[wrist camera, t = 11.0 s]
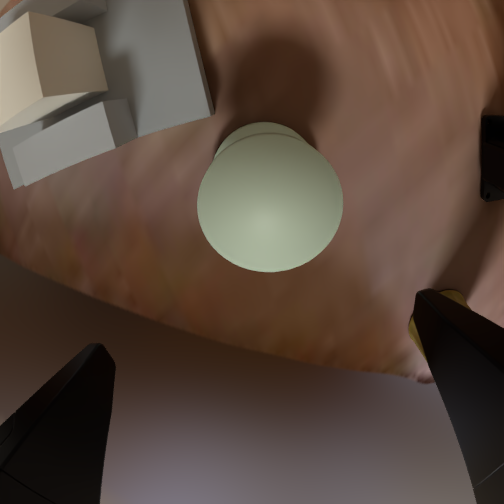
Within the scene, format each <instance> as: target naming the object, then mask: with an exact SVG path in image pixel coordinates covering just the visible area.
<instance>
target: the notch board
mask: <svg viewBox="0 0 504 504" xmlns="http://www.w3.org/2000/svg"><path fill="white" fill-rule="evenodd" d="M28 11H29V12H34V13H39V14H44V15H48V16H52V17H56V18H60V19H64V20H68V21H72V22H75V23H79V24H83V25H86V26H89V27H93V28H94V30H95V35H96V39H97V44H98V49H99V53H100V58H101V62H102V66H103V70H104V74H105V78H106V82H107V86H108V90H109V91H106V92H104V93H102V94H100V95H97V96H95V97H93V98H91V99H89V100H86V101H84V102H82V103H80V104H78V105H76V106H74V107H72V108H70V109H68V110H66V111H64V112H62V113H60V114H59V115H57V116H55V117H53V118H50V119H46V120H42V121H38V122H35V123H31V124H28V125H24V126H21V127H18V128H14V129H11V130H8V131H5V132H2V133H0V148H1V152H2V155H3V158H4V162H5V165H6V168H7V171H8V174H9V177H10V180H11V183H12V185H13V188H14V189H16V188H18V187H20V186H22V185H25V186H27V185H29V184H31V183H33V182H35V181H38V180H40V179H42V178H44V177H46V176H48V175H50V174H53V173H55V172H57V171H59V170H62V169H64V168H66V167H69V166H71V165H73V164H76V163H78V162H81V161H83V160H86V159H88V158H91V157H93V156H96V155H99V154H101V153H104V152H106V151H109V150H112V149H115V148H117V147H119V146H121V145H123V144H125V143H127V142H129V141H131V140H133V139H135V138H138V137H141V136H144V135H147V134H150V133H153V132H156V131H159V130H163V129H166V128H169V127H173V126H176V125H180V124H183V123H187V122H191V121H194V120H198V119H202V118H206V117H210V116H212V115H214V114H215V112H214V108H213V104H212V100H211V95H210V91H209V87H208V83H207V79H206V75H205V71H204V67H203V62H202V58H201V54H200V50H199V46H198V42H197V38H196V33H195V29H194V25H193V21H192V17H191V13H190V9H189V4H188V0H23V1H22V2H20V3H19V4H17V5H16V6H15V7H14V8H12V9H11V10H10V11H8V12H7V13H6V14H5V15H3V16H2V17H1V18H0V33H1V32H2V31H3V30H4V29H6V28H7V27H8V26H9V25H11V24H12V23H13V22H14V21H16V20H17V19H18V18H20V17H21V16H22V15H24V14H25V13H27V12H28Z"/></svg>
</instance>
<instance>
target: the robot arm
mask: <svg viewBox="0 0 504 504" xmlns="http://www.w3.org/2000/svg"><path fill="white" fill-rule="evenodd" d="M488 121H489V123H487V122H488ZM486 194H487V195H486ZM481 198H482V199H483V200H484V201H486V202H489V201H495V200H501V199H504V116H502V115H484V116H483V118H482V180H481ZM413 320H414V324H415V327H416V329H417V332H418V335H419V338H420V341H421V344H422V347H423V350H424V353H425V356H426V360H427V363H428V366H429V368H430V371H431V373H432V376H433V378H434V380H435V383H436V385H437V387H438V390H439V392H440V394H441V397H442V400H443V402H444V404H445V407H446V410H447V412H448V415H449V417H450V420H451V422H452V425H453V428H454V431H455V434H456V436H457V439H458V442H459V445H460V448H461V451H462V454H463V457H464V460H465V463H466V466H467V470H468V473H469V476H470V480H471V483H472V486H473V488H474V489H473V491H474V495H475V498H476V502H477V504H504V328H502V327H500V326H499V325H497V324H495V323H493V322H492V321H490V320H488V319H486V318H485V317H483V316H481V315H479V314H478V313H476V312H474V311H472V310H470V309H469V308H467V307H465V306H463V305H461V304H459V303H458V302H456V301H454V300H452V299H450V298H448V297H447V296H445V295H443V294H441V293H439V292H437V291H435V290H433V289H431V288H428V289H424V290H420V291H418V292H417V293H416V297H415V304H414V311H413ZM115 371H116V366H115V362H114V360H113V358H112V357H111V356H110V354H109V353H108V351H107V350H106V348H105V347H104V345H103V344H101V343H91V344H89V345H87V346H86V347H85V348H84V349H83V350H82V351H81V352H79V353H78V354H77V355H76V356H75V357H74V358H73V359H72V360H71V361H69V362H68V363H67V364H66V365H65V366H64V367H63V368H62V369H61V370H59V371H58V372H57V373H56V374H55V375H54V376H53V377H52V378H51V379H50V380H48V381H47V382H46V383H45V384H44V385H43V386H42V387H41V388H40V389H39V390H38V391H37V392H36V393H35V394H33V396H31V397H30V398H29V399H28V400H27V401H26V402H25V403H24V404H23V405H22V406H21V407H20V408H18V409H17V410H16V412H15V413H13V414H12V415H11V416H10V417H9V418H8V419H7V420H6V421H5V422H4V423H3V424H2V425H1V426H0V504H100V496H101V486H102V485H101V484H102V476H103V467H104V460H105V459H104V458H105V451H106V445H107V438H108V432H109V425H110V419H111V413H112V403H113V391H114V380H115Z"/></svg>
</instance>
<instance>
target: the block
mask: <svg viewBox="0 0 504 504" xmlns="http://www.w3.org/2000/svg"><path fill="white" fill-rule="evenodd" d="M106 91H109V90H108V86H107V82H106V78H105V74H104V70H103V66H102V62H101V58H100V53H99V49H98V44H97V39H96V35H95V30H94V28H93V27H89V26H86V25H83V24H79V23H75V22H72V21H68V20H64V19H60V18H56V17H52V16H48V15H44V14H39V13H34V12H29V11H28V12H27V13H25V14H24V15H22V16H21V17H20V18H18V19H17V20H16V21H14V22H13V23H12V24H11V25H9V26H8V27H7V28H6V29H4V30H3V31H2V32H1V33H0V133H2V132H5V131H8V130H11V129H14V128H18V127H21V126H24V125H28V124H31V123H35V122H38V121H42V120H46V119H50V118H53V117H55V116H57V115H59V114H60V113H62V112H64V111H66V110H68V109H70V108H72V107H74V106H76V105H78V104H80V103H82V102H84V101H86V100H89V99H91V98H93V97H95V96H97V95H100V94H102V93H104V92H106Z"/></svg>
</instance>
